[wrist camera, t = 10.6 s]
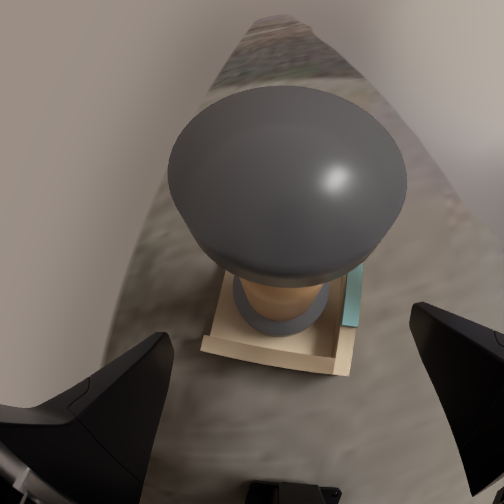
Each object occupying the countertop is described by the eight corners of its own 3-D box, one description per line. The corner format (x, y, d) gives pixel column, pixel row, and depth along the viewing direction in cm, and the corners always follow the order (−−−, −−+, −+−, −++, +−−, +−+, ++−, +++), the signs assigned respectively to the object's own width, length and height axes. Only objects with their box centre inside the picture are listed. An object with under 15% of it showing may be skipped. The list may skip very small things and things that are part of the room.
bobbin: (321, 340, 17) (424, 277, 5) (229, 331, 17) (136, 251, 5) (326, 254, 19) (383, 98, 7) (242, 247, 20) (201, 86, 8)
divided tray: (339, 374, 16) (350, 376, 14) (209, 352, 18) (198, 349, 15) (354, 157, 24) (360, 136, 21) (261, 144, 25) (259, 122, 22)
